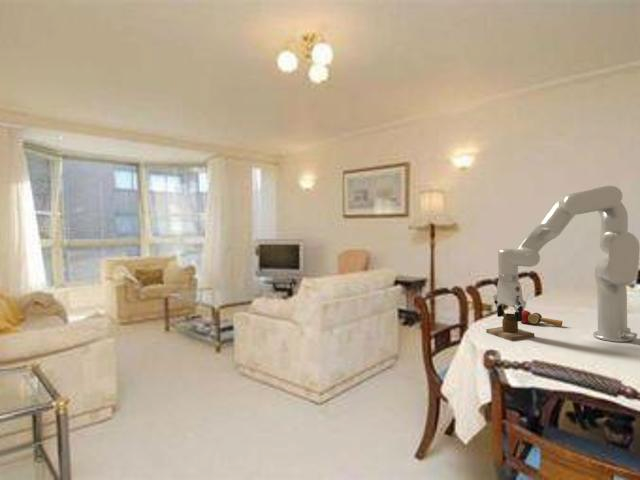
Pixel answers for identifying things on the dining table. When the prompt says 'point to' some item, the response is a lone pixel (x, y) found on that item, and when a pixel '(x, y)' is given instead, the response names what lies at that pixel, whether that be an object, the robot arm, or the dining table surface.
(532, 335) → the board
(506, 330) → the utensil holder
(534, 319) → the kendama
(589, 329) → the dining table surface
